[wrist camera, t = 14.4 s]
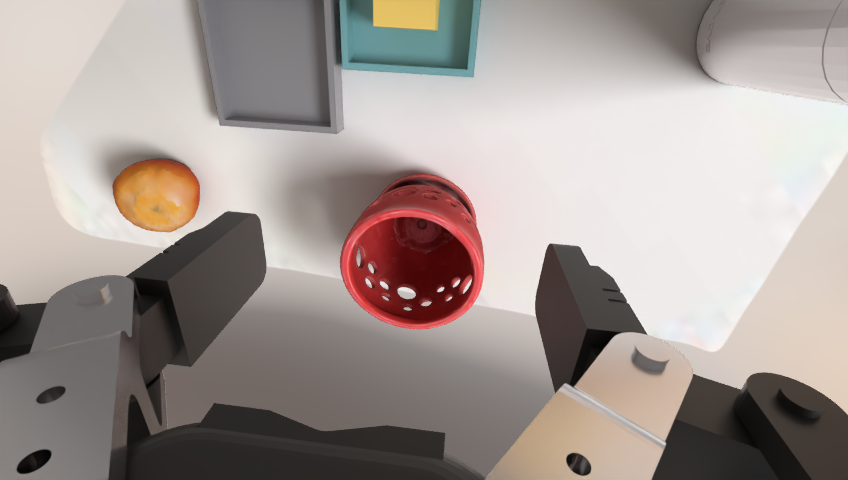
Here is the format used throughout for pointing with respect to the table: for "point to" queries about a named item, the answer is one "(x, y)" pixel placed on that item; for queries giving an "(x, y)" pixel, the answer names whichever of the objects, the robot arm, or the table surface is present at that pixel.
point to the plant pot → (415, 253)
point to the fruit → (157, 194)
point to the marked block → (406, 14)
